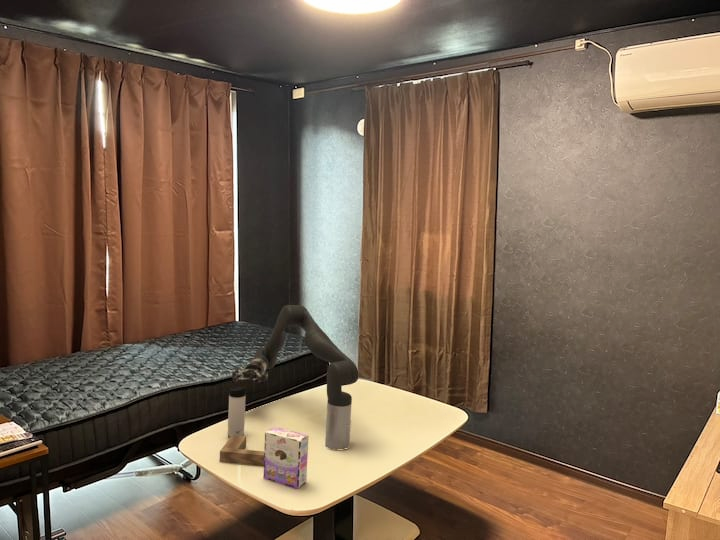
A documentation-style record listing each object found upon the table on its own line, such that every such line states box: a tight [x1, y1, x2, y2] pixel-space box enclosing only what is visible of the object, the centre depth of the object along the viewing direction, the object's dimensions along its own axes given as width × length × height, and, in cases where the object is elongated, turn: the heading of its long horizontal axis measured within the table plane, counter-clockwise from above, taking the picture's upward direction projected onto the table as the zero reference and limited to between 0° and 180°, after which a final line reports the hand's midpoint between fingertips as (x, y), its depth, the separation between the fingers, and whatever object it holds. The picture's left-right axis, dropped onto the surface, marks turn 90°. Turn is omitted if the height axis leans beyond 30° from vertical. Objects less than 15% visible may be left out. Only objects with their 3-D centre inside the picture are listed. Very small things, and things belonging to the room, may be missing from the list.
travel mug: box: [227, 385, 248, 439], centre depth 211 cm, size 6×7×20 cm
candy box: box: [263, 426, 310, 490], centre depth 180 cm, size 14×6×16 cm, turn 65°
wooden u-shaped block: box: [218, 435, 264, 467], centre depth 197 cm, size 22×14×4 cm, turn 86°
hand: (245, 380), depth 222 cm, fingers open, 8 cm apart
